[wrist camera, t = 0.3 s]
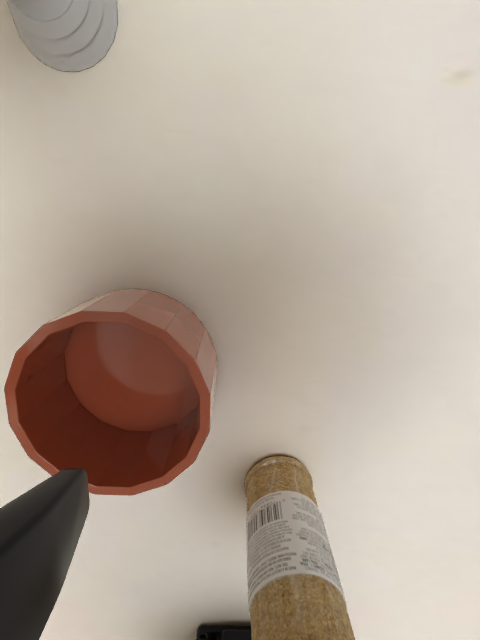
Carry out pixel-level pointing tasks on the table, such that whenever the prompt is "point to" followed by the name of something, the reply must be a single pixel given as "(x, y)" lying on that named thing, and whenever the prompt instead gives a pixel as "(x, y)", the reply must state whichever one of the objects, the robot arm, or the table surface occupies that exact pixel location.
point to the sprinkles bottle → (290, 558)
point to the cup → (115, 391)
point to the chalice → (66, 30)
